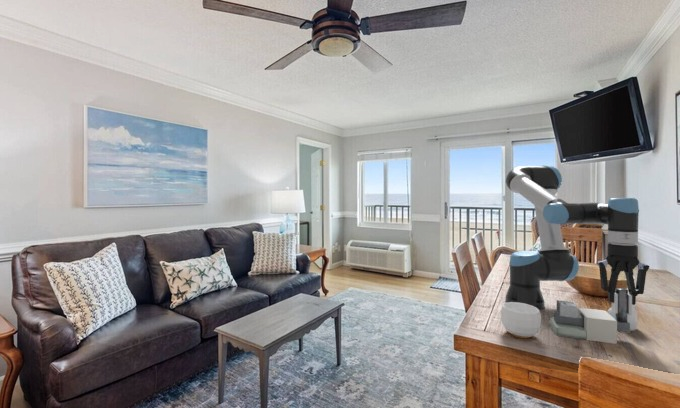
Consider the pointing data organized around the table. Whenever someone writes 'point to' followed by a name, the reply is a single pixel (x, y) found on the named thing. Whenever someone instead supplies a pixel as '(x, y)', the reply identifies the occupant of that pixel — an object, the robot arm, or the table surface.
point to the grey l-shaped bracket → (620, 317)
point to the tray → (567, 330)
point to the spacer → (567, 309)
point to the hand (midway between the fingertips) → (621, 312)
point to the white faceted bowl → (521, 319)
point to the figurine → (628, 318)
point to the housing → (599, 325)
